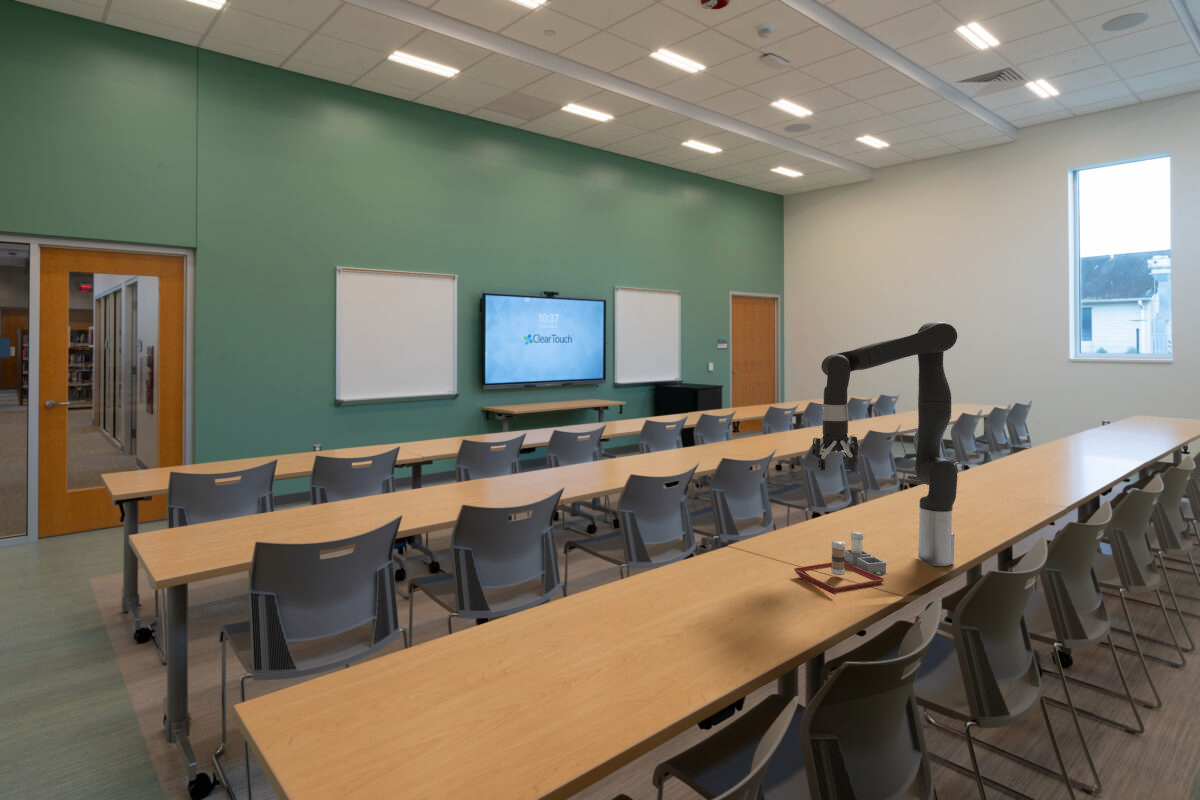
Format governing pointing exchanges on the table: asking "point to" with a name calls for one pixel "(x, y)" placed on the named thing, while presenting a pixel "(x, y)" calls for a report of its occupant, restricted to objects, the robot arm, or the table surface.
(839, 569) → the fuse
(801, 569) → the plant saucer
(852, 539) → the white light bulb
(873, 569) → the block
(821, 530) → the table surface
